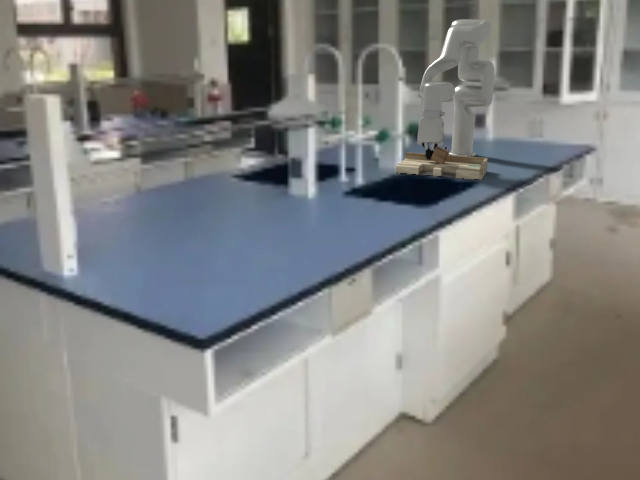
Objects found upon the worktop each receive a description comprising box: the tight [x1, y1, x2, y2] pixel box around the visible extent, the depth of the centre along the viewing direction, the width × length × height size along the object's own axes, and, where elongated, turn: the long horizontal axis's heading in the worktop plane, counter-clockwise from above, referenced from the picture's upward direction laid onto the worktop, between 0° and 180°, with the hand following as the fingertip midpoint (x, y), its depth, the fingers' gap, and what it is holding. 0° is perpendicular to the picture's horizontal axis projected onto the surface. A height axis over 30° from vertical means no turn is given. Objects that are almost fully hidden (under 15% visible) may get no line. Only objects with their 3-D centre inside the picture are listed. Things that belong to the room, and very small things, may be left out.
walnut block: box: [430, 146, 450, 165], centre depth 287 cm, size 5×5×5 cm
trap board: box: [395, 151, 489, 181], centre depth 285 cm, size 18×34×6 cm, turn 71°
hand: (429, 159), depth 290 cm, fingers closed
